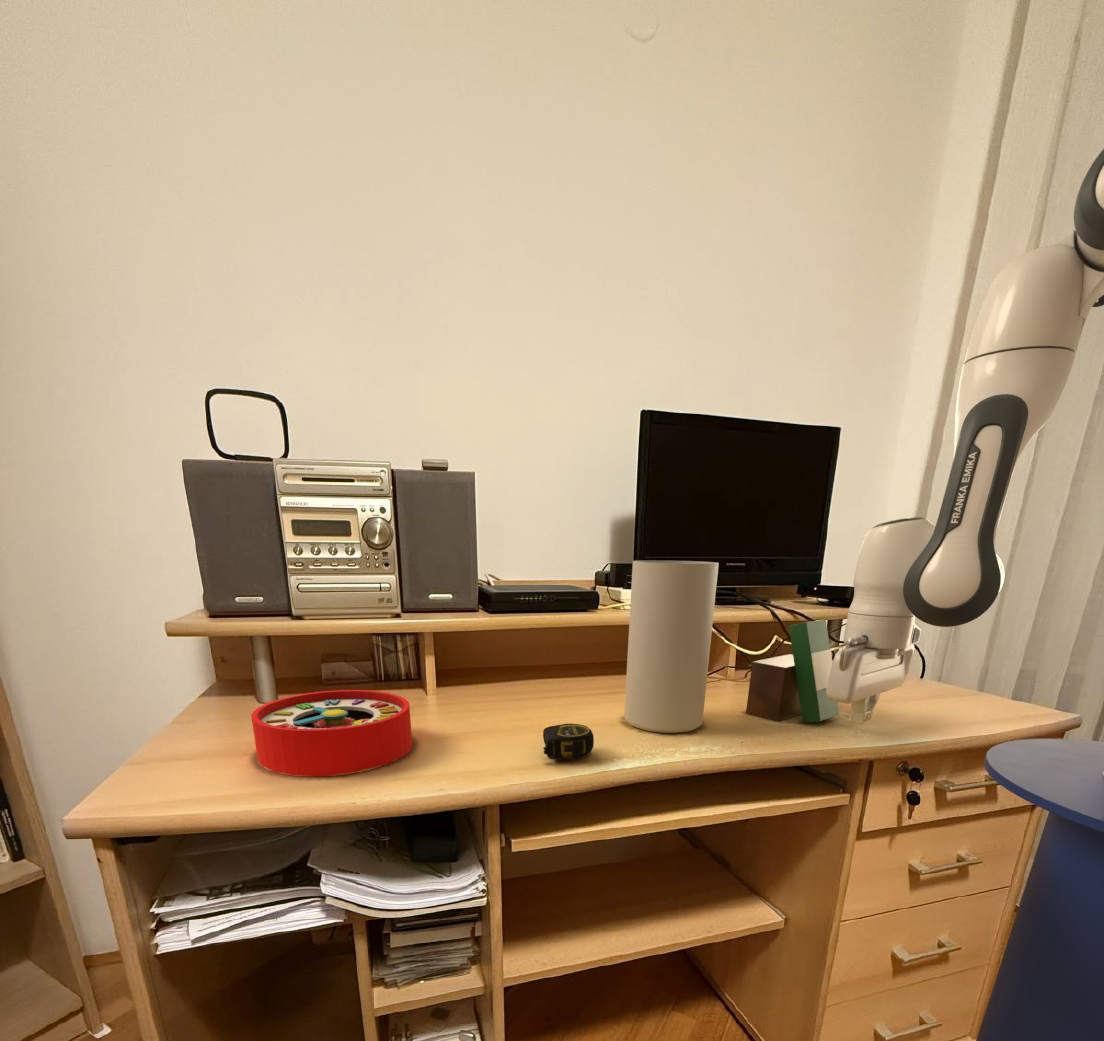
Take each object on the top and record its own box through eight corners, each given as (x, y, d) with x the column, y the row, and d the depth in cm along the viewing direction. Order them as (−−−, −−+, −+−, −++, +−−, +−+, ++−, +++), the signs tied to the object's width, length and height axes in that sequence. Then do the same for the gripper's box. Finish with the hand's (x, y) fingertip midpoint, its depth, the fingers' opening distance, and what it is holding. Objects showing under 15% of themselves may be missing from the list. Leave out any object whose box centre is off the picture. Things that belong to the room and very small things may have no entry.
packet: (831, 723, 99) (883, 660, 90) (812, 730, 95) (865, 664, 86) (772, 675, 105) (815, 612, 97) (752, 680, 101) (796, 614, 93)
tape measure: (542, 747, 82) (542, 721, 81) (590, 747, 83) (591, 721, 81) (543, 764, 76) (543, 737, 75) (595, 764, 76) (596, 737, 75)
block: (813, 709, 103) (821, 659, 100) (777, 721, 96) (785, 667, 93) (782, 702, 108) (789, 654, 105) (745, 713, 100) (752, 661, 98)
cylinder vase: (608, 720, 95) (615, 560, 87) (657, 707, 103) (668, 560, 95) (668, 740, 86) (683, 564, 78) (717, 724, 94) (735, 563, 86)
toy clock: (440, 705, 80) (306, 742, 65) (441, 745, 82) (312, 790, 67) (353, 683, 92) (221, 710, 77) (356, 719, 94) (228, 751, 78)
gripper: (868, 642, 79) (850, 739, 83) (926, 630, 91) (908, 715, 95) (822, 636, 83) (808, 728, 88) (883, 625, 96) (868, 706, 100)
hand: (860, 721), depth 92 cm, fingers closed
